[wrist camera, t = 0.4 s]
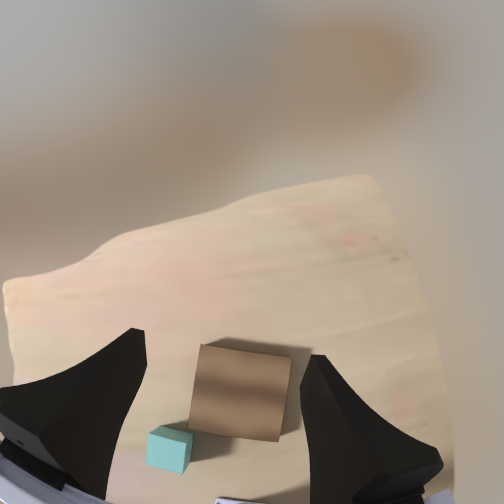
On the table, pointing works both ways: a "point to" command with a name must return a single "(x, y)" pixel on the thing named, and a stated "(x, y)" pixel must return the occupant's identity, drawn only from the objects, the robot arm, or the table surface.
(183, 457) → the teal cube
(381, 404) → the table surface
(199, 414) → the walnut plinth
